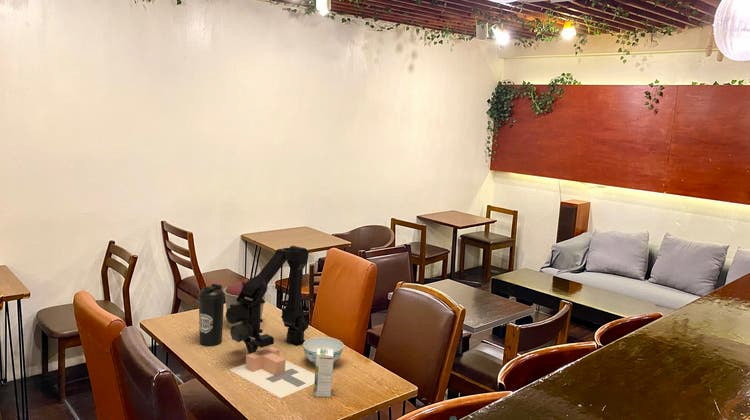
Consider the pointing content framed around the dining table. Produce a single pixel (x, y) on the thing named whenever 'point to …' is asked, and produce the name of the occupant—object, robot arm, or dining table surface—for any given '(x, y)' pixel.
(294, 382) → the mat
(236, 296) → the canister
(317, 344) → the chinaware
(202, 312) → the water bottle
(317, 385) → the syrup box
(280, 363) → the t block
